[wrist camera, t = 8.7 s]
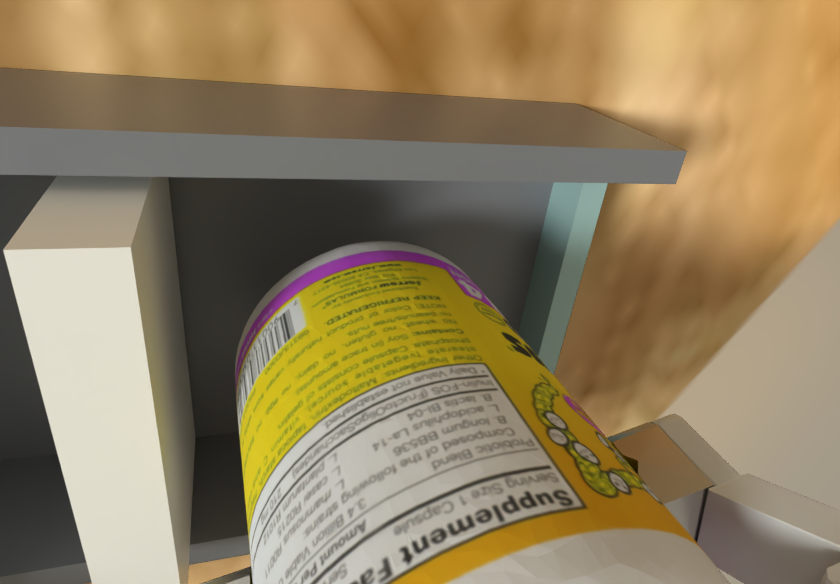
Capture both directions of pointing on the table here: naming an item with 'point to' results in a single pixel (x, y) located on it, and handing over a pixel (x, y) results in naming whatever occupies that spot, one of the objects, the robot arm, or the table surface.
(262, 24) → the table surface
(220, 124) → the pusher lane
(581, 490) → the supplement bottle
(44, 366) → the plate
